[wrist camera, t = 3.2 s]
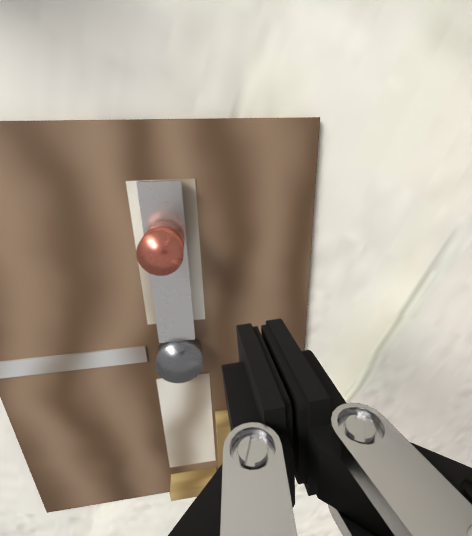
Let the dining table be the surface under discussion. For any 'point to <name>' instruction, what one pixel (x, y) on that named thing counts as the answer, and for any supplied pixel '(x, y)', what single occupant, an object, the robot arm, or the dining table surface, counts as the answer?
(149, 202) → the arm
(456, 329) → the dining table surface
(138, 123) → the board
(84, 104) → the dining table surface
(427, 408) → the dining table surface
